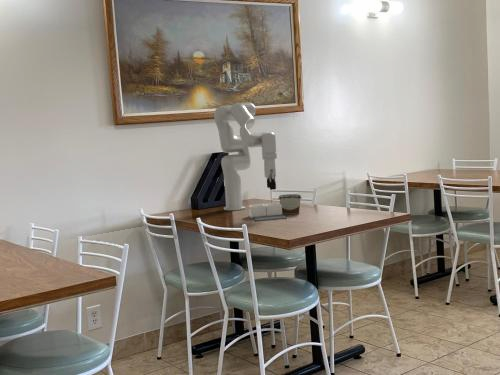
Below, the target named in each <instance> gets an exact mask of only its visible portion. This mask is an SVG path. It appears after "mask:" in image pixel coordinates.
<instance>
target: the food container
mask: <svg viewBox="0 0 500 375" xmlns="http://www.w3.org/2000/svg"><path fill="white" fill-rule="evenodd" d="M278 200H279V203H280V204H282V214H283V215H299V214H300V210H301V209H300V207H301V200H302V196H301V194H297V193H296V194H294V193H293V194H291V193H289V194H280V195H278Z"/></svg>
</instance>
